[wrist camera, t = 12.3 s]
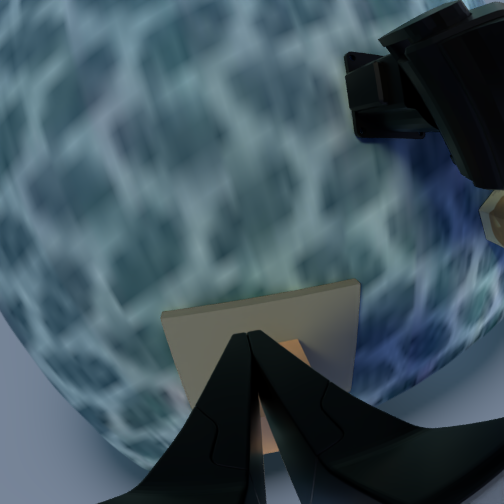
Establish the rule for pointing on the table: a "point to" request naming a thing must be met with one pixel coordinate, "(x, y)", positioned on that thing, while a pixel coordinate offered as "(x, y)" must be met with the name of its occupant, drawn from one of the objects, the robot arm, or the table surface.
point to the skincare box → (494, 217)
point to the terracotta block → (267, 435)
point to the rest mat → (269, 331)
